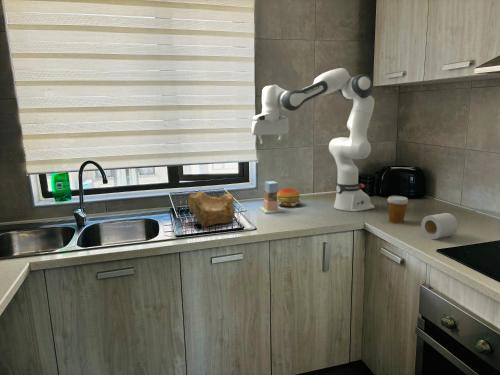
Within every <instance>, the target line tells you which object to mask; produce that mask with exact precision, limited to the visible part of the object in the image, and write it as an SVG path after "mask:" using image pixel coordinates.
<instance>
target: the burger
mask: <svg viewBox="0 0 500 375" xmlns="http://www.w3.org/2000/svg"><path fill="white" fill-rule="evenodd" d="M300 197H301V196H300V192H299V191H298V190H297V189H295V188H292V187H284V188H281V189H280V190H278V192H277V201H278V206H281V207H287V208H290V207H291V208H292V207H296V206H298V205H299V204H300V203H301V200H300Z"/></svg>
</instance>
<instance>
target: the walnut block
mask: <svg viewBox="0 0 500 375" xmlns="http://www.w3.org/2000/svg"><path fill="white" fill-rule="evenodd" d="M263 195H264V196H263V197H264V198H263V200H264V199H265V200H266V201H268V202H271V201H277V200H278V197H277V196H278V192H274V193H268V192H267V191H265V189H264V194H263Z"/></svg>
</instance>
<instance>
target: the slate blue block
mask: <svg viewBox="0 0 500 375" xmlns="http://www.w3.org/2000/svg"><path fill="white" fill-rule="evenodd" d="M264 190H265V191H267V192H268V193H274V192H277V193H278V192H279V183H278V182H277V181H274V180H272V181H271V180H270V181H264Z"/></svg>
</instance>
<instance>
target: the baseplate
mask: <svg viewBox="0 0 500 375" xmlns="http://www.w3.org/2000/svg"><path fill="white" fill-rule="evenodd" d="M258 210H260V211H261V212H262V213H263V214H264V215H267V214H274V213H275V214H276V213H283V212H284V210H283V209H281V208H280V207H278V210H270V211H267V210H266V209H264V206H260V207H258Z"/></svg>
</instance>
